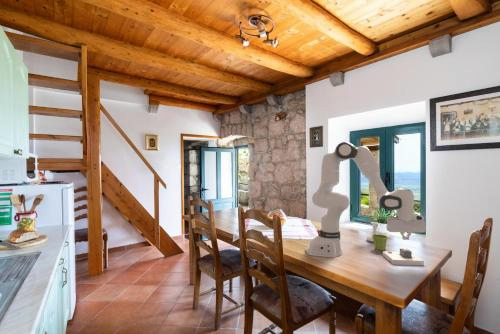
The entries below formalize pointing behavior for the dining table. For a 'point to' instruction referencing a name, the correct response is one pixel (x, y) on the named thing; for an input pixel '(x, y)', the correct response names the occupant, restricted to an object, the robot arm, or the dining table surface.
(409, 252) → the plug
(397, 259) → the socket plate
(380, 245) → the plant pot
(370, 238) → the flower in vase
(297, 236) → the dining table surface
